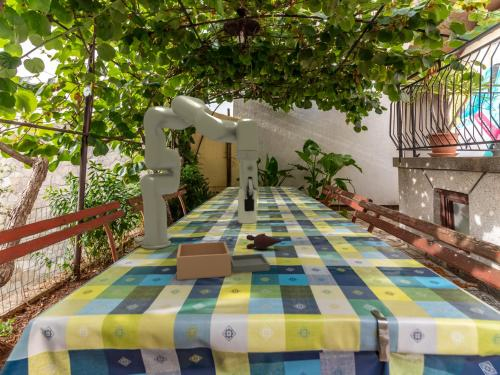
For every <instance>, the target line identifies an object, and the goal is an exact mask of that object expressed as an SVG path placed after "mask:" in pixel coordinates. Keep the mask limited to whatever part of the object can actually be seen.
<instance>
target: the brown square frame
mask: <svg viewBox="0 0 500 375" xmlns="http://www.w3.org/2000/svg"><path fill="white" fill-rule="evenodd" d="M231 256H232V255H231V252H230V250H229V247H228V245H227V242H226V241H213V242H211V241H210V242H195V243H193V242H192V243H179V244H178V248H177V254H176V280H178V281H179V280H191V279H192V280H193V279H205V278H219V277H220V278H221V277H231V276H232V267H231Z"/></svg>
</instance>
